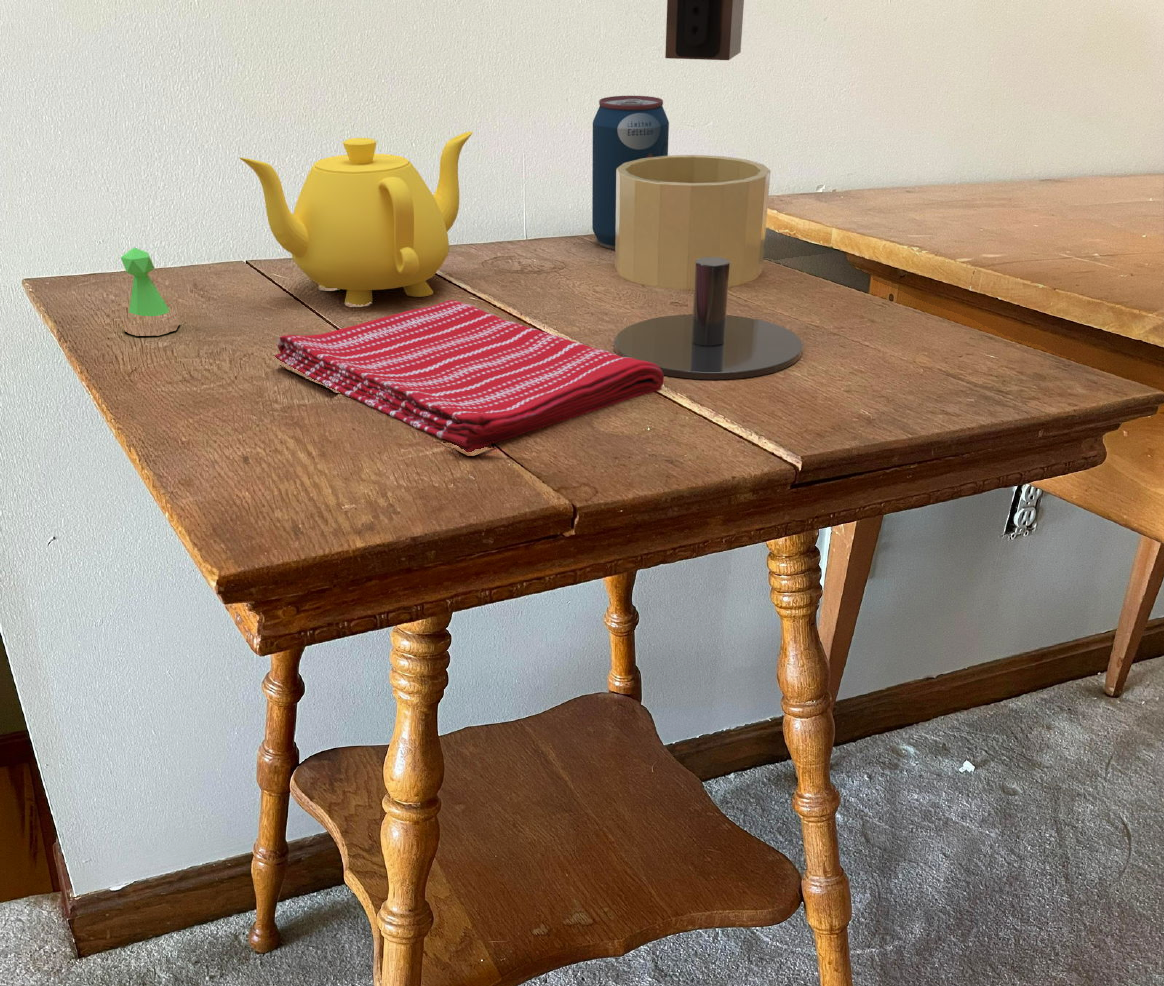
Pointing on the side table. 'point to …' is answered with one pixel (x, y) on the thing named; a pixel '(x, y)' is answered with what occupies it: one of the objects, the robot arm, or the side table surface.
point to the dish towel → (467, 372)
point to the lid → (710, 336)
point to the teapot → (366, 219)
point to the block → (727, 33)
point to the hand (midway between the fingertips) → (704, 49)
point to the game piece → (143, 285)
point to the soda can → (622, 151)
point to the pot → (689, 218)
